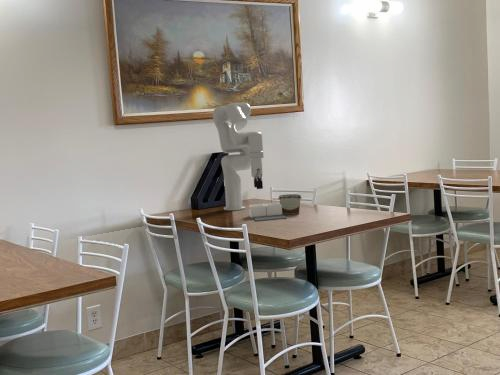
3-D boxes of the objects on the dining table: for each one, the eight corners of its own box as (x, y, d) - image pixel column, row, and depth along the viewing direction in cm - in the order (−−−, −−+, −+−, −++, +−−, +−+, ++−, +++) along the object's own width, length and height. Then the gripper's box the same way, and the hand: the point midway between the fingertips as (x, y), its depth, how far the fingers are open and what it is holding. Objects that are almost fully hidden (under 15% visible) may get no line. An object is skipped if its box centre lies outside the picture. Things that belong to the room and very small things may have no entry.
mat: (252, 217, 334) (252, 216, 334) (282, 215, 336) (282, 213, 336) (255, 221, 322) (255, 220, 322) (286, 218, 324) (286, 217, 324)
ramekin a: (249, 216, 340) (248, 205, 339) (264, 214, 341) (263, 203, 340) (251, 218, 332) (250, 207, 332) (266, 217, 333) (265, 205, 332)
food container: (302, 212, 342) (301, 193, 341) (302, 213, 336) (301, 195, 335) (279, 212, 343) (278, 194, 342) (278, 214, 337) (278, 195, 336)
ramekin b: (265, 214, 341) (264, 203, 340) (279, 213, 342) (279, 202, 341) (267, 217, 333) (266, 205, 332) (282, 215, 334) (281, 204, 333)
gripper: (247, 155, 341) (249, 187, 343) (251, 156, 324) (253, 190, 326) (261, 154, 342) (263, 185, 344) (265, 155, 325) (267, 188, 327)
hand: (258, 187), depth 335 cm, fingers open, 9 cm apart
